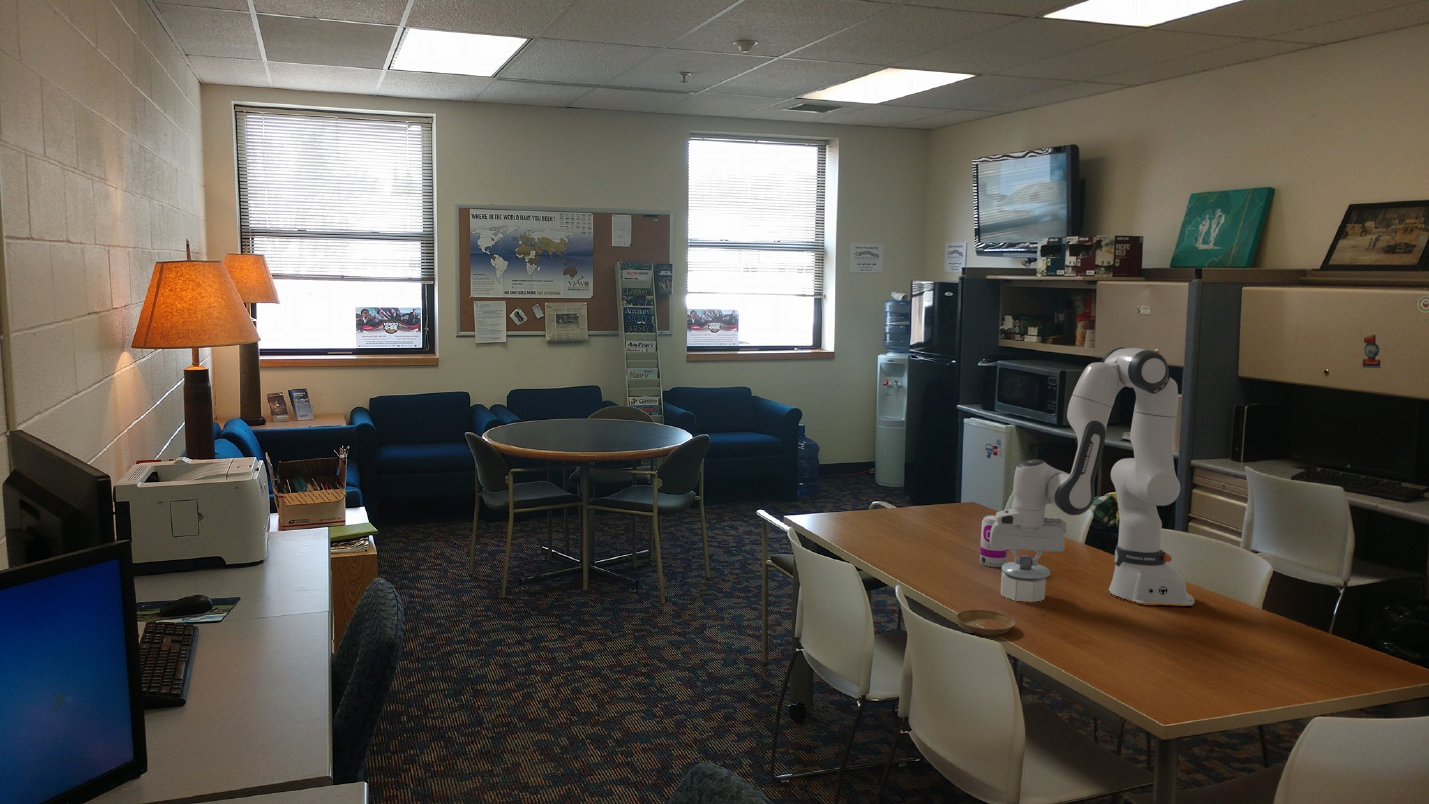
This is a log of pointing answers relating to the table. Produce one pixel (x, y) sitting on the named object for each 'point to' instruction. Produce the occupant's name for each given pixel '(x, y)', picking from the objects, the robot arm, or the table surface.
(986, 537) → the supplement can
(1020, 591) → the bowl
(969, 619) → the plant saucer
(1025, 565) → the lid
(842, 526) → the table surface
